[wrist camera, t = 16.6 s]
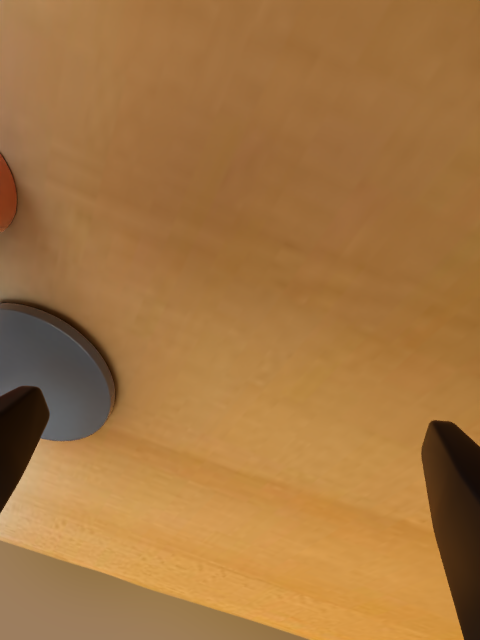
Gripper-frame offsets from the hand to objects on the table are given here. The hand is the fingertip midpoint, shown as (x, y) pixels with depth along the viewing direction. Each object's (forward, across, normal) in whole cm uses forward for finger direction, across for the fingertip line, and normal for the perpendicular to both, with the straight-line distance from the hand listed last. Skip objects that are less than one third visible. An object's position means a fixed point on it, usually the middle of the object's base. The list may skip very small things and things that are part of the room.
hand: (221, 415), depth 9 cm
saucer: (+12, +16, +10) cm, 22 cm away
